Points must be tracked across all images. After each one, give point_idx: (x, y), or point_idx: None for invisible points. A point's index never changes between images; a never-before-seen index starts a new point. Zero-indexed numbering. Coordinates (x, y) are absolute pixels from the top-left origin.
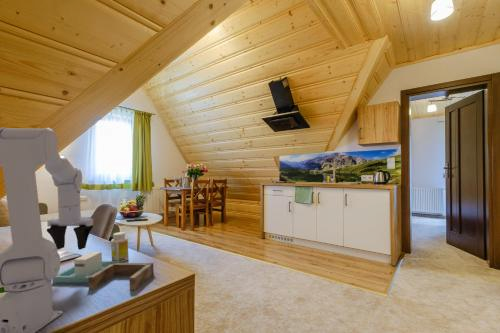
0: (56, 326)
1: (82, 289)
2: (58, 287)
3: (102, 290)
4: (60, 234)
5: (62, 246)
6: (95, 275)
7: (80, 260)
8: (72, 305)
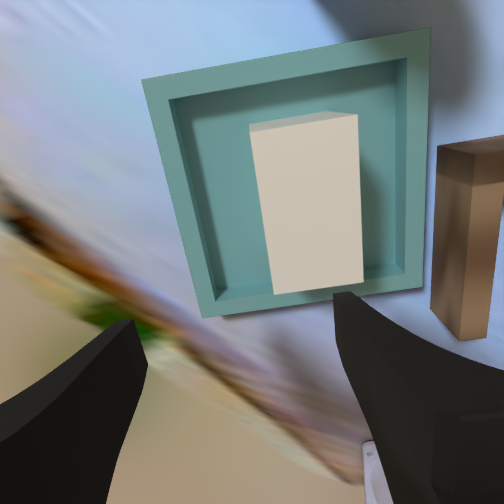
0: None
1: (399, 312)
2: (272, 319)
3: (498, 302)
4: (83, 456)
5: (132, 341)
6: (484, 322)
7: (321, 284)
8: None
